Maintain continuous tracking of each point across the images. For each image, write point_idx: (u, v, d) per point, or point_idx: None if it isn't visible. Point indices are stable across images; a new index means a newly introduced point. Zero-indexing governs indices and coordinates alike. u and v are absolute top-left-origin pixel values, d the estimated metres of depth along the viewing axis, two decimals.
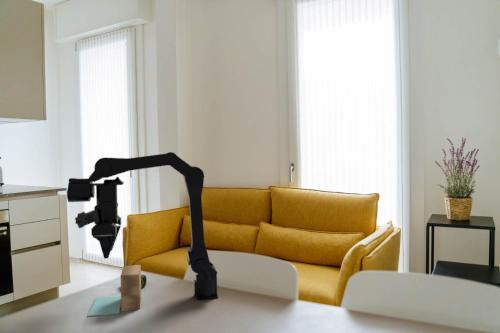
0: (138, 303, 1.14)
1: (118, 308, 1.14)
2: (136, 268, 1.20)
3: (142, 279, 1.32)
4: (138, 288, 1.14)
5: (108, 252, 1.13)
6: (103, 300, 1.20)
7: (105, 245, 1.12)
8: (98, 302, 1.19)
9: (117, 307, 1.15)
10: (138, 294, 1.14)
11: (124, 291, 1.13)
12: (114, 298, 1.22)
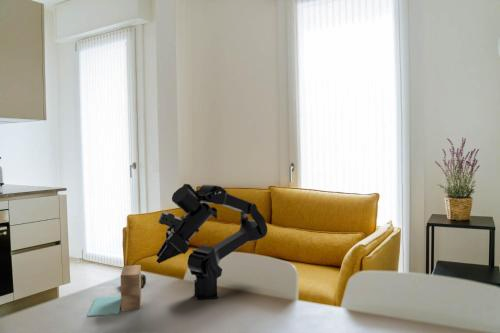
0: (138, 303, 1.14)
1: (118, 308, 1.14)
2: (136, 268, 1.20)
3: (141, 279, 1.32)
4: (138, 288, 1.14)
5: (163, 259, 1.16)
6: (103, 300, 1.20)
7: (167, 253, 1.16)
8: (98, 302, 1.19)
9: (117, 307, 1.15)
10: (138, 294, 1.14)
11: (124, 291, 1.13)
12: (114, 298, 1.22)
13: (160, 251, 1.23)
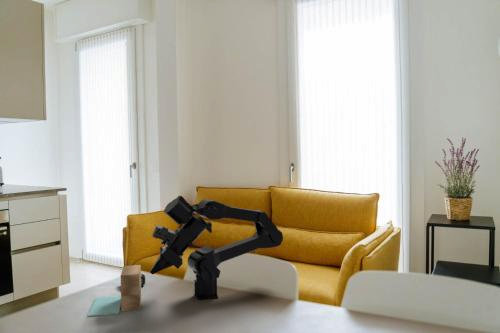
0: (138, 303, 1.14)
1: (118, 308, 1.14)
2: (136, 268, 1.20)
3: (141, 278, 1.33)
4: (138, 288, 1.14)
5: (157, 270, 1.19)
6: (103, 300, 1.20)
7: (160, 264, 1.19)
8: (98, 302, 1.19)
9: (117, 307, 1.15)
10: (138, 294, 1.14)
11: (124, 291, 1.13)
12: (114, 298, 1.22)
13: None
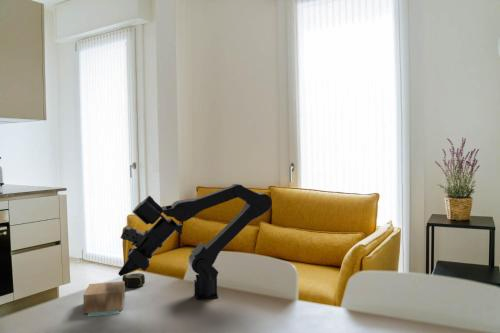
0: (115, 293, 1.13)
1: None
2: None
3: (140, 278, 1.33)
4: (99, 294, 1.12)
5: (125, 272, 1.17)
6: None
7: (128, 266, 1.17)
8: None
9: None
10: (105, 294, 1.12)
11: (101, 308, 1.12)
12: None
13: None
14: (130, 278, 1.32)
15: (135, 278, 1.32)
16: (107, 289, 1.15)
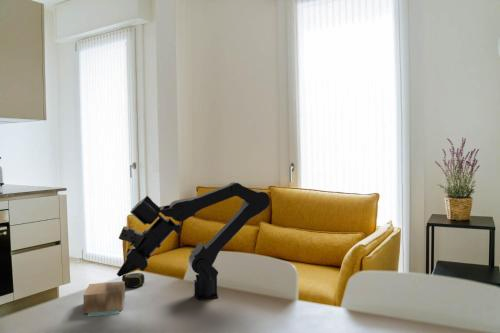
0: (115, 293, 1.13)
1: None
2: None
3: (140, 278, 1.33)
4: (99, 294, 1.12)
5: (124, 273, 1.17)
6: None
7: (127, 266, 1.17)
8: None
9: None
10: (105, 294, 1.12)
11: (101, 308, 1.12)
12: None
13: None
14: (130, 278, 1.32)
15: (135, 278, 1.32)
16: (107, 289, 1.15)
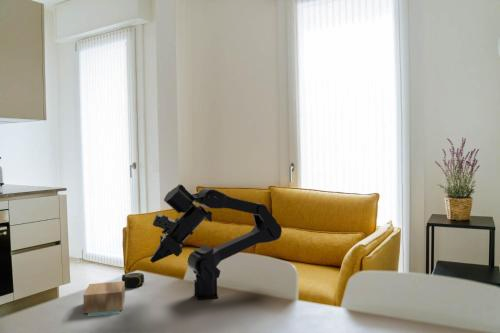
0: (115, 293, 1.13)
1: None
2: None
3: (140, 277, 1.34)
4: (99, 294, 1.12)
5: (157, 259, 1.19)
6: None
7: (160, 252, 1.19)
8: None
9: None
10: (105, 294, 1.12)
11: (101, 308, 1.12)
12: None
13: None
14: (129, 277, 1.33)
15: (134, 277, 1.33)
16: (107, 289, 1.15)
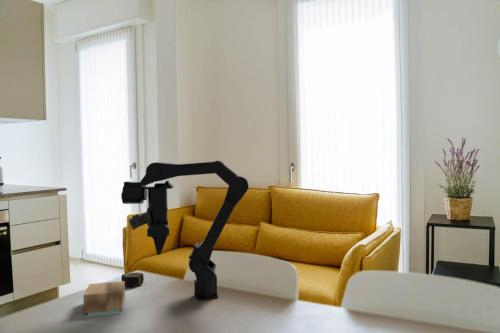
0: (115, 293, 1.13)
1: None
2: None
3: (139, 277, 1.34)
4: (99, 294, 1.12)
5: (161, 249, 1.23)
6: None
7: (158, 242, 1.22)
8: None
9: None
10: (105, 294, 1.12)
11: (101, 308, 1.12)
12: None
13: None
14: (129, 277, 1.33)
15: (134, 277, 1.33)
16: (107, 289, 1.15)
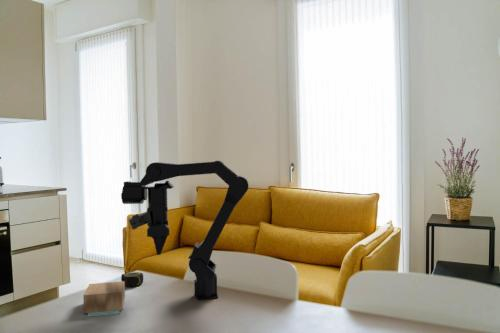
0: (115, 293, 1.13)
1: None
2: None
3: (139, 277, 1.34)
4: (99, 294, 1.12)
5: (161, 249, 1.23)
6: None
7: (158, 242, 1.22)
8: None
9: None
10: (105, 294, 1.12)
11: (101, 308, 1.12)
12: None
13: None
14: (129, 277, 1.33)
15: (134, 277, 1.33)
16: (107, 289, 1.15)
